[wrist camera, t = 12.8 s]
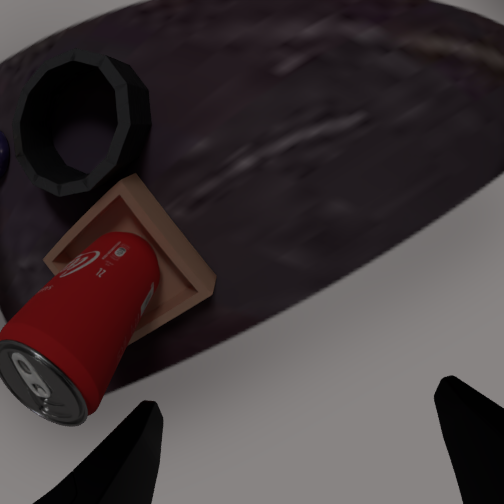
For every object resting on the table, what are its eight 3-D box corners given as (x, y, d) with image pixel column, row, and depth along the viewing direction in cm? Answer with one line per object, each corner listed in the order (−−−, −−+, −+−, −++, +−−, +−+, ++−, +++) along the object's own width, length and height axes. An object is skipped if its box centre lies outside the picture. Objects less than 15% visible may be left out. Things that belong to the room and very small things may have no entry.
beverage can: (110, 299, 21) (32, 422, 10) (86, 234, 19) (-29, 336, 8) (173, 289, 21) (115, 435, 10) (151, 218, 19) (45, 334, 8)
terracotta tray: (135, 172, 18) (120, 179, 16) (216, 275, 21) (212, 294, 19) (59, 246, 20) (42, 259, 18) (132, 329, 23) (121, 349, 21)
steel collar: (107, 35, 14) (81, 22, 11) (176, 126, 17) (159, 127, 14) (27, 121, 16) (-3, 124, 13) (85, 207, 19) (59, 222, 16)
